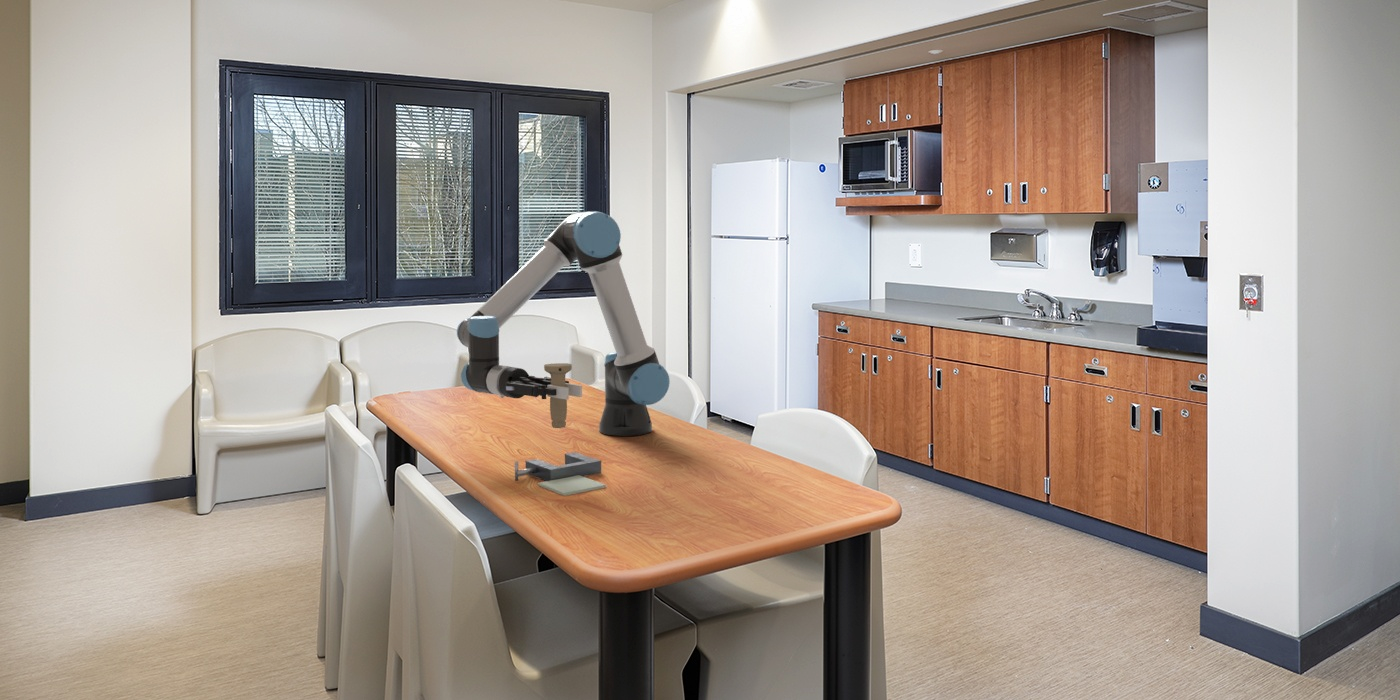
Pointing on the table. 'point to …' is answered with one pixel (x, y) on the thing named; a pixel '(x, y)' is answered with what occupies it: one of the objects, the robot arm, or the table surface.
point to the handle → (557, 404)
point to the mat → (572, 485)
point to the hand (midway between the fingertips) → (574, 392)
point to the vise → (560, 468)
